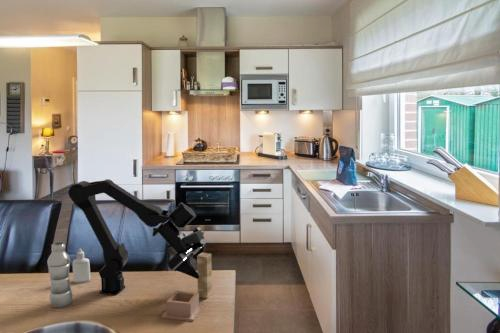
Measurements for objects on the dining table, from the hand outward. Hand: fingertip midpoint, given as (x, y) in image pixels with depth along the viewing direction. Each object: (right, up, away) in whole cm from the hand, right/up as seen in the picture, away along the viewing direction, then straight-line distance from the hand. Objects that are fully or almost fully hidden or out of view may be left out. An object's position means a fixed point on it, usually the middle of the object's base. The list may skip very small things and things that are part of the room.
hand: (204, 272), depth 135 cm
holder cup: (-5, -9, -10) cm, 15 cm away
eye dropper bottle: (-46, -6, +12) cm, 48 cm away
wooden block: (0, -8, +1) cm, 8 cm away
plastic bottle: (-44, -9, -6) cm, 46 cm away
